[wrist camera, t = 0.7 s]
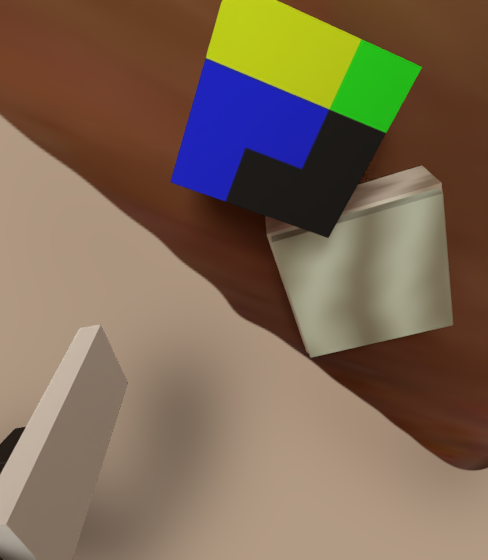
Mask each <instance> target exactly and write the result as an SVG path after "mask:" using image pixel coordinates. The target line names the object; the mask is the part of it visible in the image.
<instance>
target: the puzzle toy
mask: <svg viewBox="0 0 488 560" xmlns="http://www.w3.org/2000/svg"><path fill="white" fill-rule="evenodd" d="M421 68H422V67H421V66H419V65H416V64H414V63H412V62H410V61H408V60H405V59H403V58H401V57H399V56H397V55H395V54H392V53H390V52H388V51H386V50H384V49H381V48H379V47H377V46H375V45H373V44H371V43H368V42H366V41H364V40H362V39H360V38H357V37H355V36H353V35H351V34H349V33H347V32H344V31H342V30H340V29H338V28H336V27H333V26H331V25H329V24H327V23H325V22H323V21H320V20H318V19H316V18H314V17H312V16H309V15H307V14H305V13H303V12H301V11H299V10H296V9H294V8H292V7H290V6H288V5H285V4H283V3H281V2H279V1H277V0H222V3H221V6H220V10H219V13H218V17H217V20H216V24H215V27H214V31H213V34H212V38H211V41H210V45H209V48H208V52H207V55H206V59H205V62H204V66H203V69H202V73H201V76H200V80H199V84H198V87H197V91H196V94H195V98H194V101H193V105H192V108H191V112H190V115H189V119H188V122H187V126H186V129H185V133H184V136H183V140H182V143H181V147H180V150H179V154H178V157H177V161H176V164H175V168H174V171H173V175H172V178H171V183H174V184H177V185H180V186H183V187H185V188H188V189H191V190H194V191H197V192H199V193H202V194H205V195H208V196H211V197H214V198H216V199H219V200H222V201H225V202H228V203H231V204H233V205H236V206H239V207H242V208H245V209H247V210H250V211H253V212H256V213H259V214H262V215H264V216H267V217H270V218H273V219H276V220H279V221H281V222H284V223H287V224H290V225H293V226H295V227H298V228H301V229H304V230H307V231H310V232H312V233H315V234H318V235H321V236H324V237H326V238H329V236H330V234H331V233H332V231H333V229H334V227H335V225H336V224H337V222H338V220H339V218H340V216H341V214H342V213H343V211H344V209H345V207H346V205H347V203H348V202H349V200H350V198H351V196H352V194H353V192H354V191H355V189H356V187H357V185H358V183H359V182H360V180H361V178H362V176H363V174H364V172H365V171H366V169H367V167H368V165H369V163H370V161H371V160H372V158H373V156H374V154H375V152H376V150H377V149H378V147H379V145H380V143H381V141H382V140H383V138H384V136H385V134H386V132H387V130H388V129H389V127H390V125H391V123H392V121H393V119H394V118H395V116H396V114H397V112H398V110H399V109H400V107H401V105H402V103H403V101H404V99H405V98H406V96H407V94H408V92H409V90H410V88H411V87H412V85H413V83H414V81H415V79H416V77H417V76H418V74H419V72H420V70H421Z"/></svg>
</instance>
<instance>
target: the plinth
mask: <svg viewBox="0 0 488 560" xmlns="http://www.w3.org/2000/svg"><path fill="white" fill-rule="evenodd" d="M265 221H266V234H267V237H268V240H269V243H270V246H271V249H272V252H273V255H274V258H275V261H276V264H277V267H278V270H279V273H280V276H281V278H282V281H283V284H284V287H285V290H286V293H287V296H288V299H289V302H290V305H291V308H292V311H293V314H294V317H295V320H296V322H297V325H298V328H299V331H300V334H301V337H302V340H303V343H304V346H305V349H306V352H307V353H309V354H310V357H311V358H312V357H316V356H320V355H325V354H329V353H333V352H338V351H342V350H346V349H351V348H355V347H360V346H364V345H368V344H373V343H377V342H381V341H386V340H390V339H395V338H399V337H403V336H408V335H412V334H416V333H421V332H425V331H429V330H434V329H438V328H443V327H447V326H451V325H453V317H452V304H451V291H450V278H449V265H448V252H447V239H446V226H445V213H444V200H443V193H442V183H441V182H440V181H439V180H438V179H437V178H435V177H434V176H433V175H432V174H431V173H430V172H429V171H428V170H427V169H426V168H424V167H423V166H418V167H415V168H412V169H408V170H405V171H402V172H398V173H395V174H392V175H388V176H385V177H382V178H379V179H375V180H372V181H369V182H365V183H362V184H359V185H357V187H356V189H355V191H354V192H353V194H352V196H351V198H350V200H349V202H348V203H347V205H346V207H345V209H344V211H343V213H342V214H341V216H340V218H339V220H338V222H337V224H336V225H335V227H334V229H333V231H332V233H331V234H330V236H329V238H326V237H324V236H321V235H318V234H315V233H312V232H310V231H307V230H304V229H301V228H298V227H295V226H293V225H290V224H287V223H284V222H281V221H279V220H276V219H273V218H270V217H267V216H265Z"/></svg>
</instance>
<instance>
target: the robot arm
mask: <svg viewBox="0 0 488 560" xmlns="http://www.w3.org/2000/svg"><path fill="white" fill-rule="evenodd" d="M127 384H128V382H127V380H126V378H125V375H124V373H123V371H122V369H121V367H120V365H119V363H118V361H117V358H116V356H115V354H114V352H113V350H112V348H111V346H110V343H109V341H108V339H107V337H106V335H105V333H104V331H103V328H102V327H101V325H95V326H90V327H85V328H79V330H78V332H77V333H76V335H75V337H74V339H73V341H72V343H71V345H70V347H69V348H68V350H67V352H66V354H65V356H64V358H63V360H62V361H61V363H60V365H59V367H58V369H57V371H56V372H55V374H54V376H53V378H52V380H51V382H50V383H49V385H48V387H47V389H46V391H45V393H44V395H43V397H42V398H41V400H40V402H39V404H38V406H37V407H36V409H35V411H34V413H33V415H32V417H31V419H30V421H29V422H28V424H27V426H26V427H22V428H17V429H14V430H13V431H12V432H11V434H9V436H8V437H7V438H6V439H5V440H4V441H3V442H2V443H1V444H0V560H72V559H73V556H74V552H75V549H76V546H77V543H78V540H79V536H80V533H81V530H82V527H83V524H84V521H85V517H86V514H87V511H88V508H89V505H90V502H91V499H92V495H93V492H94V489H95V486H96V483H97V480H98V476H99V473H100V470H101V467H102V464H103V460H104V457H105V454H106V451H107V448H108V444H109V441H110V438H111V435H112V432H113V429H114V426H115V422H116V419H117V416H118V413H119V410H120V407H121V403H122V400H123V397H124V394H125V390H126V388H127Z"/></svg>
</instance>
